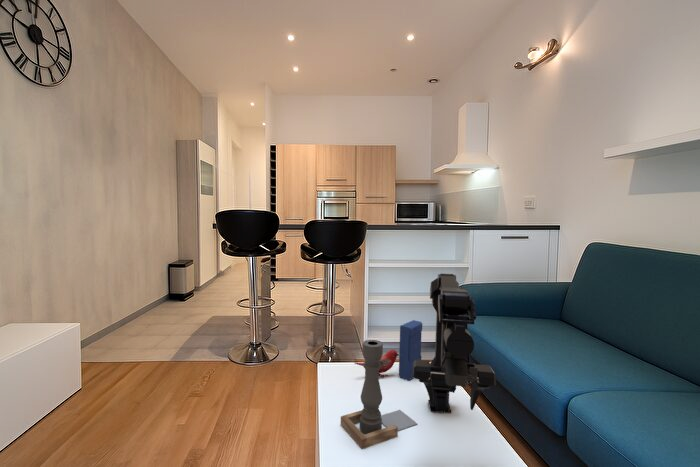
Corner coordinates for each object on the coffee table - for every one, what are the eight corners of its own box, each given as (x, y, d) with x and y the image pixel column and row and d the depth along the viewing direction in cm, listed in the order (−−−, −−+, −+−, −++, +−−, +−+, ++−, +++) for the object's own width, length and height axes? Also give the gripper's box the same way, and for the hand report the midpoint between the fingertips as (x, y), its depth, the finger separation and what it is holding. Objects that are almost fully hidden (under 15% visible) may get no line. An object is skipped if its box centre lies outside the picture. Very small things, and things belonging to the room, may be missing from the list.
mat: (399, 410, 112) (399, 409, 112) (417, 424, 104) (417, 423, 104) (375, 418, 107) (375, 417, 107) (392, 433, 100) (392, 432, 100)
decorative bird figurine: (400, 376, 135) (400, 350, 134) (354, 380, 131) (355, 354, 130) (397, 373, 138) (397, 348, 137) (352, 377, 134) (353, 351, 133)
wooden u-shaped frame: (373, 414, 109) (374, 406, 109) (397, 436, 99) (397, 427, 98) (340, 424, 103) (340, 416, 103) (361, 448, 93) (362, 439, 93)
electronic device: (410, 369, 142) (411, 319, 141) (421, 372, 139) (423, 322, 138) (397, 377, 135) (398, 324, 134) (409, 381, 131) (411, 327, 130)
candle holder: (381, 424, 104) (383, 339, 103) (381, 437, 98) (383, 347, 97) (360, 422, 105) (362, 338, 103) (358, 435, 99) (360, 346, 97)
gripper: (415, 351, 79) (413, 420, 80) (503, 358, 77) (501, 430, 77) (414, 336, 90) (412, 397, 91) (491, 341, 88) (489, 405, 88)
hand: (451, 407), depth 86 cm, fingers open, 9 cm apart
